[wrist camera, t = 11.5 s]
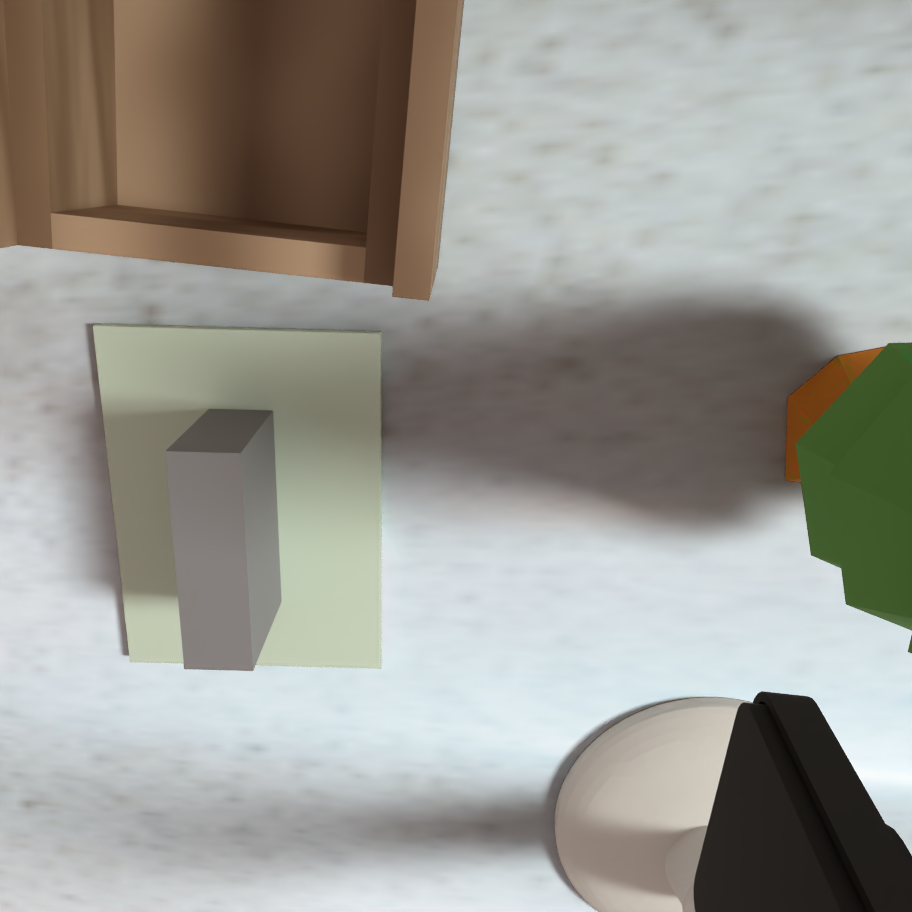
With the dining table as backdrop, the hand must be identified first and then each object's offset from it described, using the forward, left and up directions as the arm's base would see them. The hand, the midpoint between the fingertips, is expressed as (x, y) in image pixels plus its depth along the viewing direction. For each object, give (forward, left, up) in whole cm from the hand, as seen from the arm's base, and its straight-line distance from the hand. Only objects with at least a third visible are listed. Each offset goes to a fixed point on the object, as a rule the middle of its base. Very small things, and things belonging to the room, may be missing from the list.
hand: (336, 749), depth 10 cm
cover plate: (+6, +7, -23) cm, 25 cm away
